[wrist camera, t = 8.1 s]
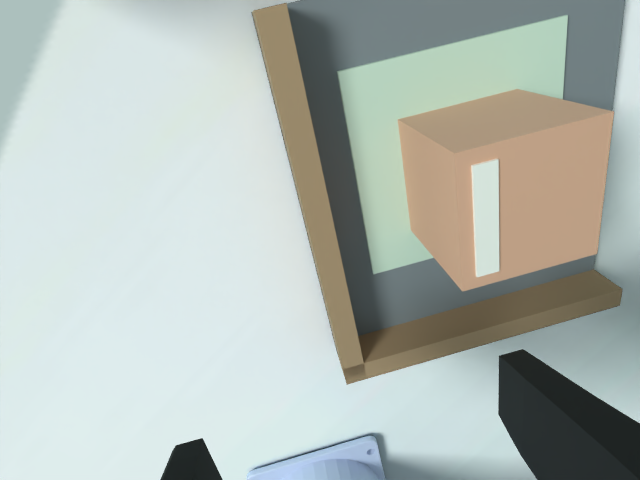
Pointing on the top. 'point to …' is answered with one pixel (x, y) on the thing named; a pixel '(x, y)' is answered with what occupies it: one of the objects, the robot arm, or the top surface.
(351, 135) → the pad
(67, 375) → the top surface
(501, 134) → the cube
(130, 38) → the top surface
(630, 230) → the top surface
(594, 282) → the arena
